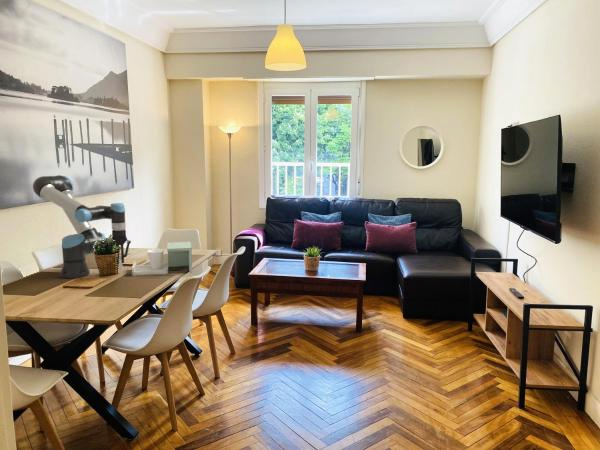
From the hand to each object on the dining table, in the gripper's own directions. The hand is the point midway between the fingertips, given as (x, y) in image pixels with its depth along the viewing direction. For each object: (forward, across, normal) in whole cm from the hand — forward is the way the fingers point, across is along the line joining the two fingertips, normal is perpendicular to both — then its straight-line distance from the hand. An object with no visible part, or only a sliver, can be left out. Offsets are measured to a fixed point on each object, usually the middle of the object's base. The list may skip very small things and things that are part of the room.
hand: (120, 268), depth 262 cm
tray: (+3, +17, 0) cm, 17 cm away
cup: (+2, +20, +3) cm, 20 cm away
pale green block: (+3, +34, +1) cm, 34 cm away
